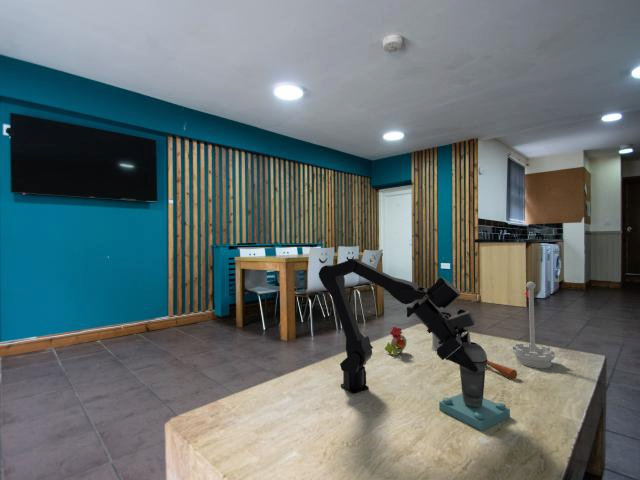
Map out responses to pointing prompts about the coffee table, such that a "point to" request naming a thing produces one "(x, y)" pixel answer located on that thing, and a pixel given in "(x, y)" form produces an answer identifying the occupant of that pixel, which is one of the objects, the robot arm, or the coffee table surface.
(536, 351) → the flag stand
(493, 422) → the base brick
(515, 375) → the kendama
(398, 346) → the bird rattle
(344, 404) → the coffee table surface
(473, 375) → the beverage cup
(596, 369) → the coffee table surface
